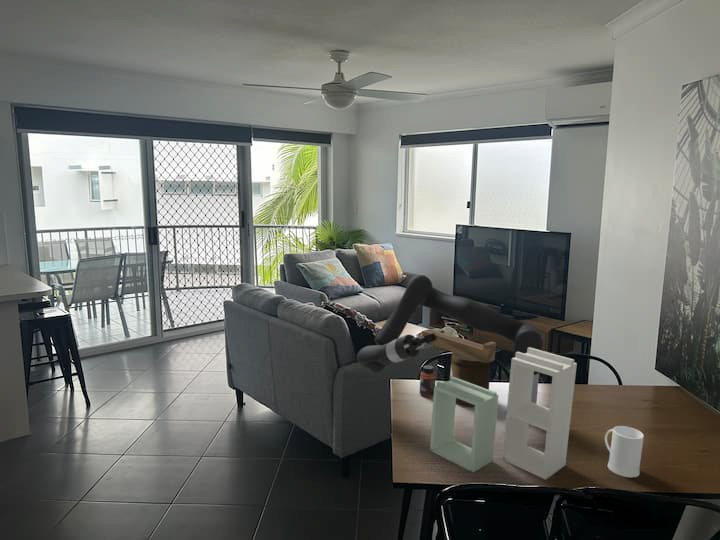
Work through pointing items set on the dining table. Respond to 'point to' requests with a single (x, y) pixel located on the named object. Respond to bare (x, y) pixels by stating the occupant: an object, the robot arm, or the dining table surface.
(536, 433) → the dining table surface
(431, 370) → the supplement bottle
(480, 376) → the wooden container
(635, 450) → the mug
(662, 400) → the dining table surface
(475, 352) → the hook bar
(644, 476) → the dining table surface
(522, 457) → the shelf stand
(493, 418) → the rest stand
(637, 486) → the dining table surface
